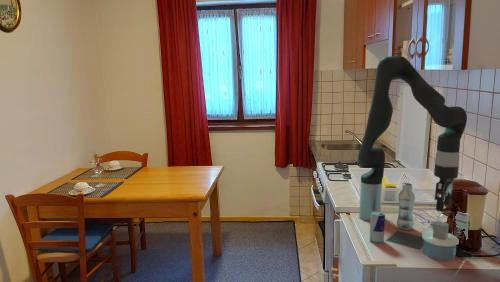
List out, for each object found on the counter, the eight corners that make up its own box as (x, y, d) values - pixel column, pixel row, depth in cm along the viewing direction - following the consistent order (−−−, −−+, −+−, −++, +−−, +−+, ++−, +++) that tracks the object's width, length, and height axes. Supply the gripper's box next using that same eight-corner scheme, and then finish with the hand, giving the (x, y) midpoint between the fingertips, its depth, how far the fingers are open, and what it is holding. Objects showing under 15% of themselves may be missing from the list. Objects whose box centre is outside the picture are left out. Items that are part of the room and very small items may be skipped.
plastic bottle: (413, 233, 160) (416, 186, 157) (396, 231, 162) (399, 185, 159) (412, 227, 166) (415, 182, 163) (395, 225, 168) (398, 181, 165)
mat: (397, 231, 161) (397, 230, 161) (430, 239, 153) (430, 238, 153) (385, 241, 152) (385, 240, 152) (419, 250, 143) (419, 249, 143)
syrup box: (465, 251, 143) (469, 213, 141) (451, 245, 148) (454, 209, 146) (475, 247, 145) (478, 211, 143) (460, 242, 151) (463, 206, 148)
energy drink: (384, 245, 147) (386, 216, 146) (370, 244, 149) (371, 215, 147) (382, 240, 153) (384, 211, 151) (368, 239, 154) (370, 210, 152)
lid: (427, 230, 147) (428, 215, 146) (462, 238, 139) (463, 223, 138) (417, 240, 138) (418, 224, 137) (454, 249, 130) (455, 233, 129)
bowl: (428, 246, 146) (429, 232, 146) (457, 254, 140) (458, 239, 139) (420, 255, 139) (421, 240, 138) (450, 264, 132) (451, 248, 132)
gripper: (440, 158, 142) (437, 200, 144) (429, 165, 131) (425, 210, 134) (463, 161, 137) (459, 204, 140) (453, 168, 126) (449, 215, 129)
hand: (442, 207), depth 137 cm, fingers open, 8 cm apart
